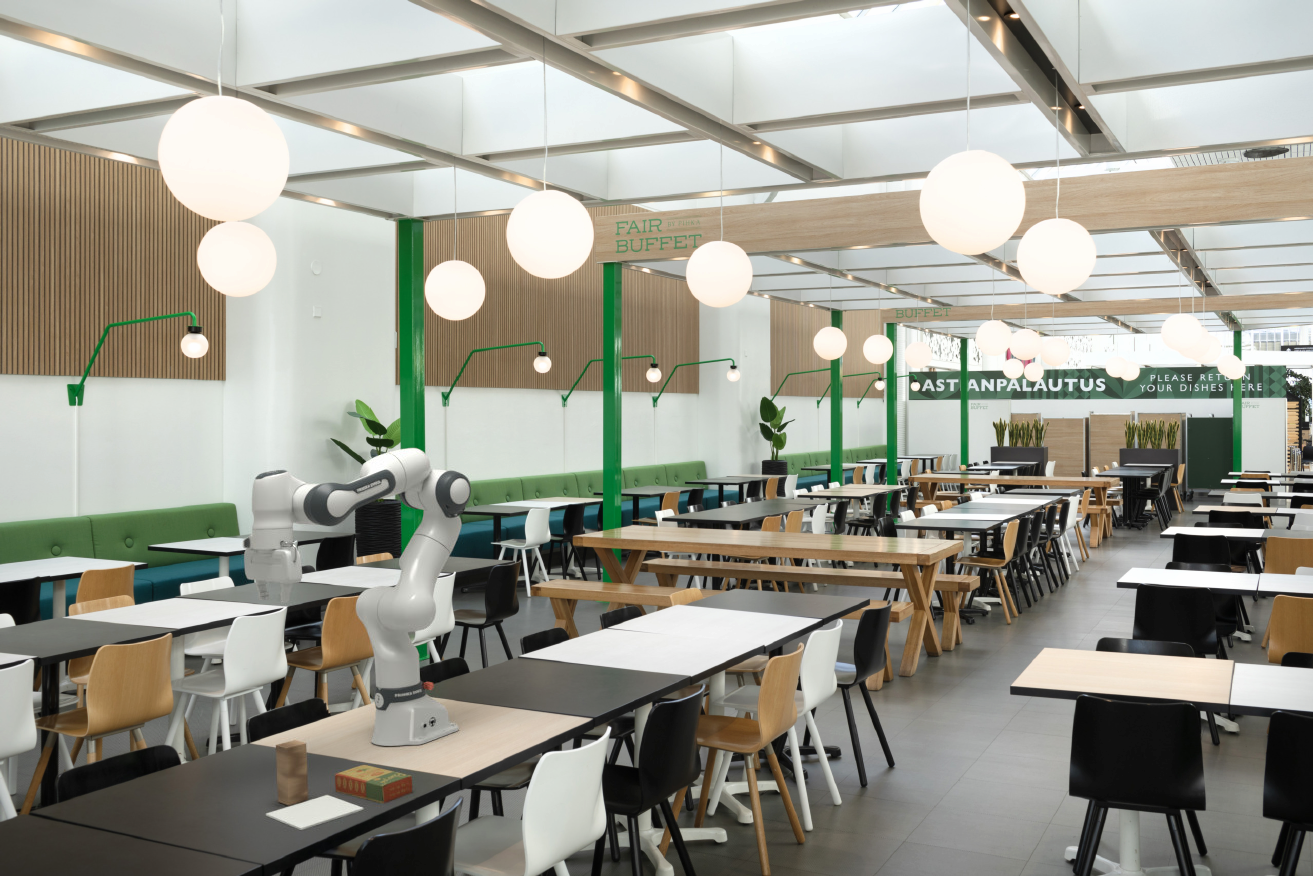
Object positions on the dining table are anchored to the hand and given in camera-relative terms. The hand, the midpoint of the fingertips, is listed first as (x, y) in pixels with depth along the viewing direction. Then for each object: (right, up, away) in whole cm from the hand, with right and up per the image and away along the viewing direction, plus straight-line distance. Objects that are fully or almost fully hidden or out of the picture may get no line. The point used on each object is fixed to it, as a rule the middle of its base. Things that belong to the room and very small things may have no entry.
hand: (273, 601), depth 239 cm
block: (+11, -40, -18) cm, 45 cm away
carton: (+27, -40, -13) cm, 50 cm away
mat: (+18, -40, -25) cm, 50 cm away
